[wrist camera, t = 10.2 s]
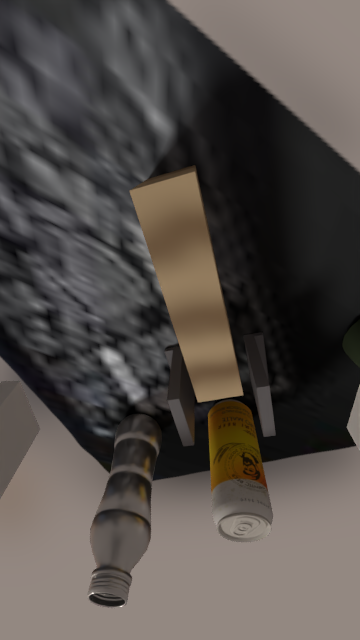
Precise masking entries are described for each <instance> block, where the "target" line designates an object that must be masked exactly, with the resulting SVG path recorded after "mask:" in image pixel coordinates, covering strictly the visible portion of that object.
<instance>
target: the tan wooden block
mask: <svg viewBox="0 0 360 640" xmlns="http://www.w3.org/2000/svg"><path fill="white" fill-rule="evenodd" d="M130 194H131V197H132V200H133V203H134V206H135V209H136V212H137V215H138V218H139V221H140V224H141V228H142V231H143V234H144V237H145V240H146V243H147V246H148V249H149V252H150V255H151V258H152V262H153V265H154V268H155V271H156V274H157V277H158V280H159V283H160V286H161V289H162V292H163V296H164V299H165V302H166V305H167V308H168V311H169V314H170V317H171V320H172V323H173V327H174V330H175V333H176V336H177V339H178V342H179V345H180V348H181V351H182V354H183V357H184V361H185V364H186V367H187V370H188V373H189V376H190V379H191V382H192V385H193V388H194V391H195V395H196V398H197V401H198V402H204V401H210V400H217V399H223V398H229V397H236V396H242V395H243V390H242V385H241V380H240V375H239V369H238V364H237V359H236V354H235V349H234V344H233V339H232V334H231V330H230V325H229V320H228V316H227V311H226V306H225V302H224V297H223V292H222V287H221V283H220V278H219V273H218V269H217V264H216V259H215V255H214V250H213V245H212V241H211V236H210V231H209V227H208V222H207V217H206V213H205V208H204V203H203V199H202V194H201V189H200V185H199V180H198V175H197V171H196V166H195V165H193V166H190V167H187V168H183V169H180V170H176V171H173V172H170V173H166V174H163V175H160V176H156V177H153V178H150V179H147V180H146V181H144V182H142V183H141V184H139V185H138V186H136V187H135V188H133V189H131V190H130Z"/></svg>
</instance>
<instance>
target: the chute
mask: <svg viewBox="0 0 360 640" xmlns="http://www.w3.org/2000/svg"><path fill="white" fill-rule="evenodd" d="M243 337H244V343H245V349H246V356H247V362H248V368H249V374H250V380H251V384H252V388H253V393H254V397H255V401H256V405H257V409H258V414H259V418H260V422H261V426H262V431H263V435H264V437H266V436H275V427H274V418H273V410H272V402H271V394H270V386H269V383H268V380H269V378H268V370H267V362H266V353H265V345H264V337H263V333H262V332H259V333H254V334H248V335H243ZM165 354H166V357H167V360H168V363H169V366H170V369H171V371H170V380H169V389H168V397H167V402H168V404H169V407H170V410H171V413H172V416H173V418H174V421H175V424H176V427H177V429H178V432H179V435H180V438H181V441H182V443H183V446H189V445H194V388H193V385H192V382H191V379H190V376H189V373H188V370H187V367H186V364H185V361H184V357H183V354H182V351H181V348H180V346H178V347H172V348H167V349H165Z"/></svg>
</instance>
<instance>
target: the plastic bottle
mask: <svg viewBox="0 0 360 640" xmlns="http://www.w3.org/2000/svg"><path fill="white" fill-rule="evenodd" d="M161 442H162V436H161V428H160V426H159V425H158V423H157V422H156V421H155V420H154V419H153V418H152V417H150V416H148V415H145V414H132V415H129V416H127V417H126V418H124V419H123V420H122V421H121V422H120V424H119V426H118V429H117V431H116V435H115V450H114V456H113V462H112V468H111V472H110V476H109V480H108V482H107V485H106V489H105V492H104V495H103V497H102V500H101V502H100V505H99V507H98V510H97V512H96V515H95V517H94V520H93V523H92V526H91V529H90V543H91V548H92V552H93V555H94V558H95V562H96V565H97V568H96V569H95V570H94V571H93V572H92V576H91V584H90V588H89V591H88V600H89V601H90V602H91V603H93V604H96V605H98V606H103V607H108V608H118V607H122V606H125V605H126V603H127V600H128V593H129V587H130V585H131V581H132V576H131V575H130V572H131V570H132V569H133V568H134V566H135V565H136V564H137V563H138V561H139V560H140V559H141V557H142V556H143V554H144V553H145V552H146V550H147V547H148V545H149V542H150V538H151V490H152V488H151V487H152V478H153V473H154V468H155V463H156V459H157V456H158V453H159V450H160V446H161Z"/></svg>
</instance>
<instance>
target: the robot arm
mask: <svg viewBox="0 0 360 640" xmlns="http://www.w3.org/2000/svg"><path fill="white" fill-rule="evenodd" d="M347 429H348V431H349V433H350V434H351V436H352V438H353V440H354V442H355V444H356V445H357V447H358V449H359V451H360V385H359V389H358V392H357V395H356V399H355V402H354V405H353V409H352V412H351V415H350V419H349V422H348V425H347ZM39 430H40V427H39V425H38V423H37V420H36V418H35V416H34V413H33V411H32V409H31V406H30V404H29V402H28V399H27V397H26V395H25V392H24V390H23V388H22V385H21V383H20V381H4V382H1V383H0V498H1V496H2V495H3V493H4V491H5V489H6V488H7V486H8V484H9V482H10V481H11V479H12V477H13V475H14V474H15V472H16V470H17V468H18V467H19V465H20V463H21V462H22V460H23V458H24V456H25V455H26V453H27V451H28V449H29V448H30V446H31V444H32V442H33V440H34V439H35V437H36V435H37V434H38V432H39Z"/></svg>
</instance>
